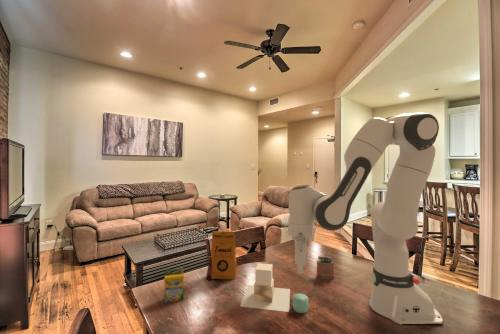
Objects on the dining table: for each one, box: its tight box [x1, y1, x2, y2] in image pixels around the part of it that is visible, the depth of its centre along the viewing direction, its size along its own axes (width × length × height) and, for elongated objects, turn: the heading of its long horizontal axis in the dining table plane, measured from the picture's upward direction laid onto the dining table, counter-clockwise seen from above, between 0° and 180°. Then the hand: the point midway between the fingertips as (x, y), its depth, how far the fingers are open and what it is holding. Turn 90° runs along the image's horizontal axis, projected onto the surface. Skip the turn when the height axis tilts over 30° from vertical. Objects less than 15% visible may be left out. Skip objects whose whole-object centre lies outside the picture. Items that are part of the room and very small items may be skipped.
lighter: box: [316, 255, 335, 280], centre depth 114 cm, size 8×3×10 cm, turn 84°
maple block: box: [253, 278, 275, 303], centre depth 96 cm, size 7×7×6 cm
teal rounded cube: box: [292, 293, 309, 314], centre depth 88 cm, size 6×6×5 cm
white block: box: [255, 262, 274, 286], centre depth 96 cm, size 6×6×6 cm
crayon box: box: [163, 268, 185, 303], centre depth 96 cm, size 7×3×12 cm, turn 105°
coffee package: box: [210, 230, 238, 281], centre depth 114 cm, size 10×12×22 cm
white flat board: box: [239, 284, 291, 313], centre depth 96 cm, size 18×16×1 cm
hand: (299, 267), depth 88 cm, fingers open, 8 cm apart
